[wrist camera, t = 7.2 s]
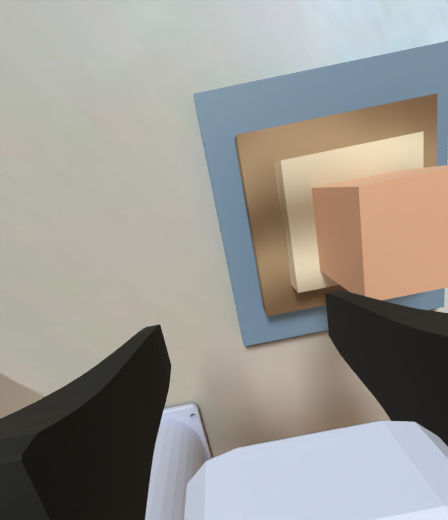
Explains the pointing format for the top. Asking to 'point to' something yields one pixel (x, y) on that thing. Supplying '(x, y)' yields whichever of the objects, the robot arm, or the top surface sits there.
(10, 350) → the top surface
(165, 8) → the top surface
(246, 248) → the plinth board
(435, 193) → the terracotta block
